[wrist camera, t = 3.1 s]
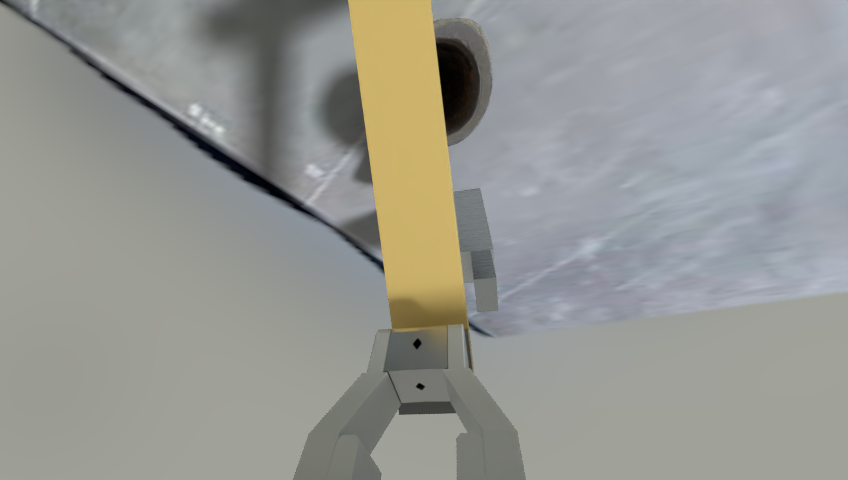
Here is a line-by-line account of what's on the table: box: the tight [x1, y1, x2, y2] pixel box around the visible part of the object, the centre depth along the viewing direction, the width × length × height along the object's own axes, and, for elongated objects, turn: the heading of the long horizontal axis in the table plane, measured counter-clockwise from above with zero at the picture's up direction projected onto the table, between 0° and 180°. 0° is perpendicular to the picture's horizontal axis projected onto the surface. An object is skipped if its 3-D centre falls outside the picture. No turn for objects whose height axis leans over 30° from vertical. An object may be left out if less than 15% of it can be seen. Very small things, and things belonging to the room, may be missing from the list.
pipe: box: [433, 18, 492, 146], centre depth 22 cm, size 6×13×8 cm, turn 156°
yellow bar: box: [348, 0, 474, 415], centre depth 12 cm, size 21×3×2 cm
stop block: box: [453, 189, 498, 312], centre depth 25 cm, size 3×7×13 cm, turn 100°
